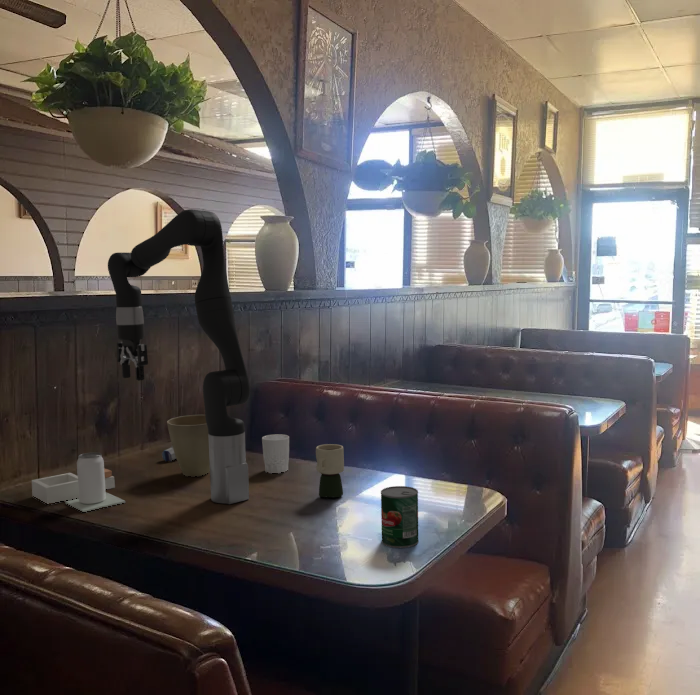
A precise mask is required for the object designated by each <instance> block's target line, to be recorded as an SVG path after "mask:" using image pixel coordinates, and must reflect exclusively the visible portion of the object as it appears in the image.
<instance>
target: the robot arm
mask: <svg viewBox="0 0 700 695" xmlns="http://www.w3.org/2000/svg"><path fill="white" fill-rule="evenodd" d="M223 235H224V234H223V227H222V223H221V220H220V218H219V217H218V215H217V214H216V213H214V212H213V211H208V210H201V209H192V208H191V209H185V210H182V211H181V212H179V213H178V214H177V215H175V216H174V217H173V218H172V219H171V220H170V221H169V222H168V223H167V224H165V226H163V227H162V228H161V229H159V231H157V232H156V233H155V234H154V235H153V236H150V237H149V238H147V239H145V240H144V241H142V242H139V243H138V244H136V245H135V246H134V247H133V248H132V250H131V251H130V252H114V253H112V254H111V255H110V256H109V258H108V261H107V270H108V271H107V272H108V273H109V277H110V279H111V282H112V286H113V289H114V292H115V300H116V301H115V304H116V309H115V310H116V313H115V319H116V338H117V340H119V341H118V342H116V360H117V363H120V364H119V365H121V375H122V376H121V377H122V378H123V379H129V378H131V365H130V363H131V362H133V364H134V367H135V379H136V381H144V380H145V367H146V366H148V364H149V360H148V359H149V357H148V349H147V344H146V343H141V340H143V339H145V318H144V311H143V302H142V301H143V299H142V290H141V288H140V287H139V286H137V285H132V284H131V283H130V282H129V279H128V278H138V277H141V276H144V275H145V274H146V273H147V272H148V271H149V270H150V269H151V267H153V266H156V265H158V264H159V263H161V262H163V261H164V260H166V258H167V257H169V255H170V252H171V250H172V249H173V248H176V247H179V246H185V245H186V246H193V247H200V249H201V255H202V264H203V265H202V272H201V275H200V278H199V280H198V282H197V285H196V288H195V293H194V305H195V306H194V307H195V310H196V316H197V321H198V324H199V326H200V328H201V329H202V331H204V333H205V335H207V337H209V339H210V340H211V341H212V343H213V344H214V345H215V346H216V348H217V349H218V351H219V353H220V355H221V358H222V361H223V364H224V368H225V369H223V370H222V369H221V370H214V371H210V372H208V373H207V374H206V375H205V377H204V379H203V382H202V383H203V384H202V396H203V404H204V405H203V406H204V413H205V414H204V415H205V418H206V423H207V427H208V438H209V462H210V471H209V482H210V483H209V485H210V499H211V500H210V501H212V502H213V503H216V504H217V503H218V504H226V505H232V504H236V503H240V502H243V501H247V500H250V487H249V486H250V485H249V464H248V463H247V460H246V458H247V455H246V451H247V450H246V431H245V430H246V429H245V422H244V420H242V419H240V418H235V417H231V416H230V415H229V413H228V411H227V410H228V409H227V407H232V406H238V405H242V404H246V403H247V402H248V401H249V398H250V394H251V385H250V379H249V375H248V372H247V371H248V370H247V368H246V364H245V360H244V356H243V353H242V350H241V346H240V340H239V335H238V331H237V327H236V321H235V314H234V307H233V302H232V297H231V292H230V286H229V282H228V276H227V269H226V261H225V249H224V237H223Z"/></svg>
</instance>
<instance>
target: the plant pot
mask: <svg viewBox="0 0 700 695" xmlns="http://www.w3.org/2000/svg"><path fill="white" fill-rule="evenodd" d="M166 423H167V424H166V425H167V429H168V430H167V431H168V433H169V438H170V443H171V446H172V447H173V450H174V453H175V456H176V462H177V464H178V466H179V468H180V470H181V473H182V475H183V476H184V475H185V477H188V476H191V477H190V478H193V477H195V476H197V477H203V476H206V475H208V474H210V462H209V438H208V427H207V423H206V418H205V414H192V415H183V416H182V415H181V416H177V417H172V418H170V419H168V420H167V421H166ZM207 473H208V474H207ZM205 474H206V475H205ZM202 475H203V476H202Z"/></svg>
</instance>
